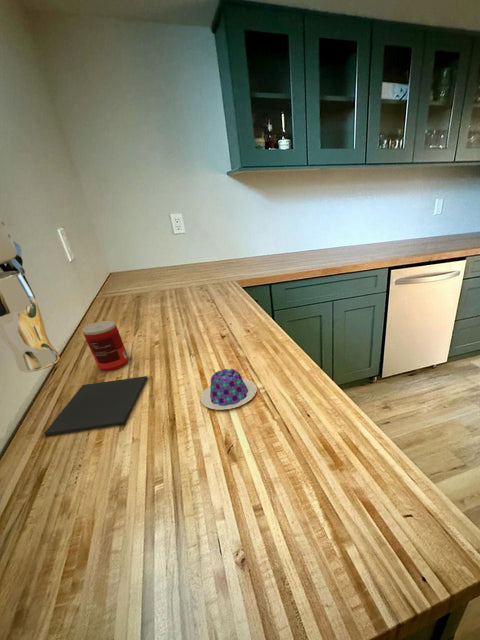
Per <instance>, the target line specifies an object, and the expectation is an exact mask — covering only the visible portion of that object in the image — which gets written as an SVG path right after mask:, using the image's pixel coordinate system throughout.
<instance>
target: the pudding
mask: <svg viewBox="0 0 480 640" xmlns="http://www.w3.org/2000/svg"><path fill="white" fill-rule="evenodd" d="M257 389H258V388H257V385H256V383H254V382H253V381H252V380H250V379H247V378H243V377H242V376H241V374H240V373H239V372H238V371H237V370H236V369H233V368H230V369H228V368H224V369H222V370H218V371H216V372H214V374H212V375H211V377H210V385H209V386H207V387H206V388H205V389H204V390H203V391H202V393H201V394H200V402H201V404H202V405H203V406H204V407H206V408H208V409H211V410H217V411H218V410H223V411H224V410H229V409H234V408H235V409H236V408H238V407H240V406H243V405H244V404H246V403H249V401H251V400H253V398H254V397H255V395H256V393H257V391H258V390H257Z"/></svg>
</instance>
